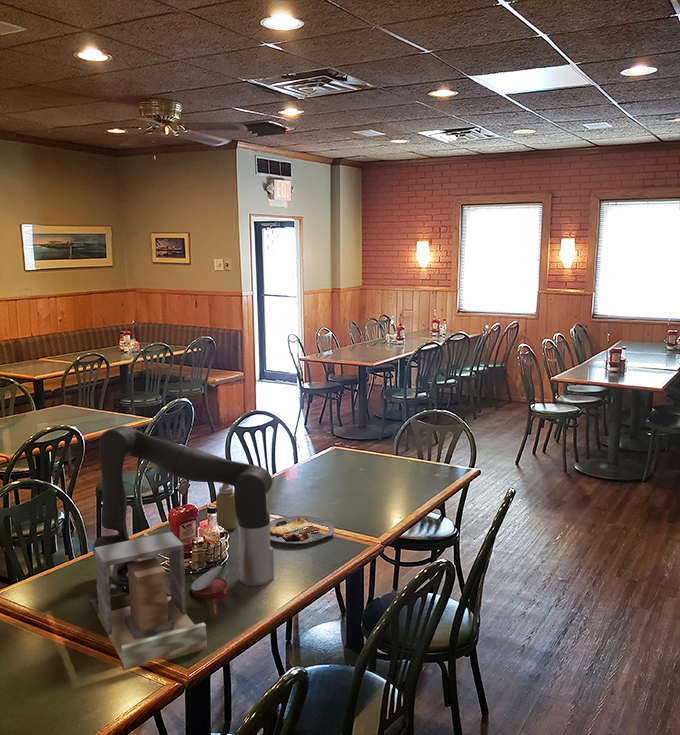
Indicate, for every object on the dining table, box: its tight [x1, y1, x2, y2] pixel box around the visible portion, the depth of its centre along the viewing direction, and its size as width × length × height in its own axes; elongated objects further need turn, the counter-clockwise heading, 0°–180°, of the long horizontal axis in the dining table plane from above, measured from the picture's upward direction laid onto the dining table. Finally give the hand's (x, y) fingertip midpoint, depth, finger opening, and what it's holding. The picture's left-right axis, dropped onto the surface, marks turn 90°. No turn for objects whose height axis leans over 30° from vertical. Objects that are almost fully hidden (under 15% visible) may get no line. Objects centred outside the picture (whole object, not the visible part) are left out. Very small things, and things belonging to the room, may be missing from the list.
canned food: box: [190, 565, 228, 602], centre depth 201 cm, size 11×10×10 cm
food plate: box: [270, 514, 335, 545], centre depth 244 cm, size 25×23×4 cm
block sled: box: [125, 557, 174, 639], centre depth 181 cm, size 10×9×16 cm
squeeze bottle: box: [215, 483, 238, 531], centre depth 249 cm, size 8×8×18 cm
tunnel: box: [90, 531, 208, 672], centre depth 183 cm, size 20×35×21 cm, turn 31°
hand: (143, 593), depth 185 cm, fingers closed
